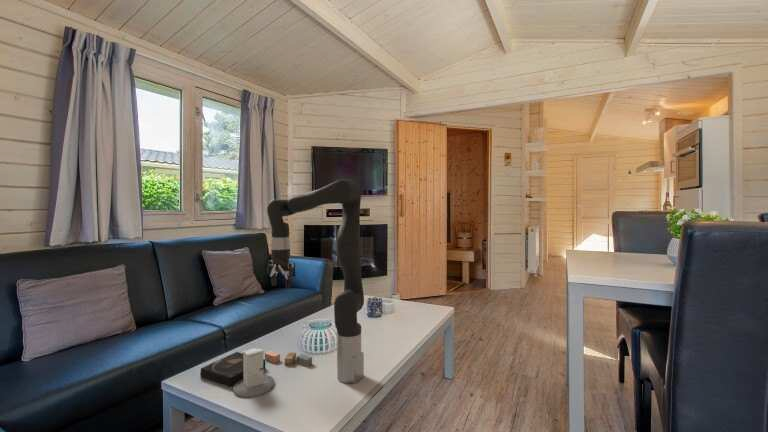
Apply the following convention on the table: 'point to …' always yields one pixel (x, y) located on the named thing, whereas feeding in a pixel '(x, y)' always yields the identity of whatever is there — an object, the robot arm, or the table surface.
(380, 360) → the table surface
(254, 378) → the skincare box
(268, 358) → the terracotta brick
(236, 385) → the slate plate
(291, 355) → the tan brick
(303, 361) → the gray brick
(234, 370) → the portable cd player
